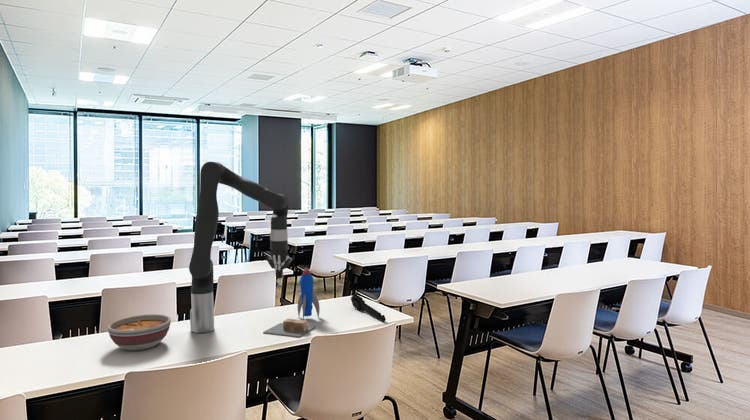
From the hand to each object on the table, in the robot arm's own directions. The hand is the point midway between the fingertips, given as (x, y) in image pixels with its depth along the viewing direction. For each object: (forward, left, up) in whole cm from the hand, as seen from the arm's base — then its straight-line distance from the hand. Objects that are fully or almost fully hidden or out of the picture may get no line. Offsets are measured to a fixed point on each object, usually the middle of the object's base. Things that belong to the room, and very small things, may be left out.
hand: (279, 278), depth 212 cm
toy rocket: (+4, +17, -23) cm, 29 cm away
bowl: (-42, -37, -23) cm, 61 cm away
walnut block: (+3, 0, -21) cm, 21 cm away
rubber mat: (+5, 0, -23) cm, 24 cm away
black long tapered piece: (+27, +36, -24) cm, 51 cm away
